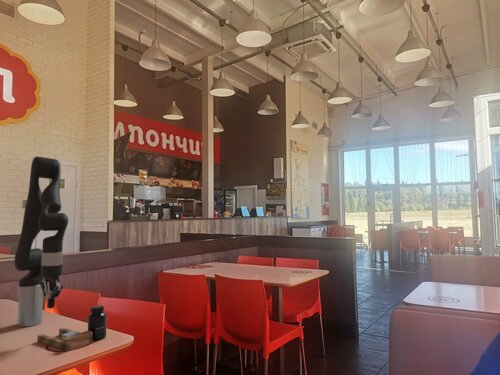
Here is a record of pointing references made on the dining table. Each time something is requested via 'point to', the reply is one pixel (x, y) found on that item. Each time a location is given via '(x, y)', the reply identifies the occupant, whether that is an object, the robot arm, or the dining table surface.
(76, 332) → the block
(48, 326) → the dining table surface
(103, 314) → the supplement bottle
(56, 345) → the track
